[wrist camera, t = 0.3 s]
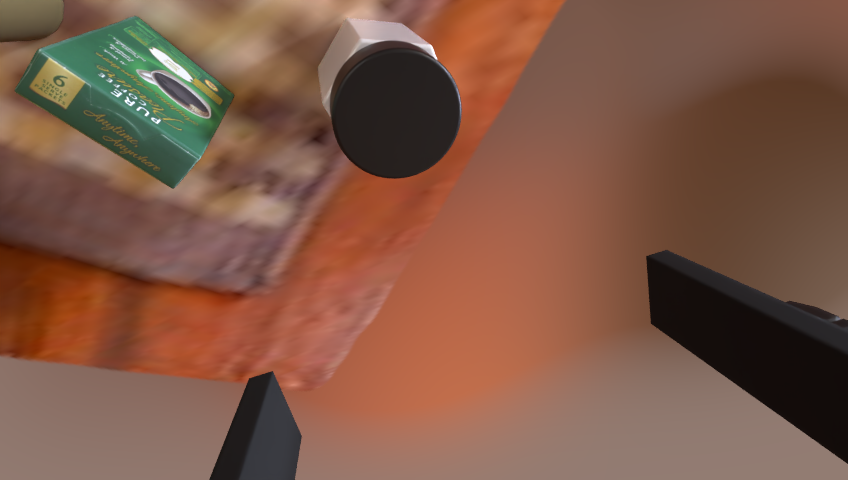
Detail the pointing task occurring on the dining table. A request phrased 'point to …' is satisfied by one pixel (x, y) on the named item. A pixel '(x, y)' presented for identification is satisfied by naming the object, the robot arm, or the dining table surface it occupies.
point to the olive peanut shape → (29, 19)
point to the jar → (388, 98)
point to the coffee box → (130, 96)
